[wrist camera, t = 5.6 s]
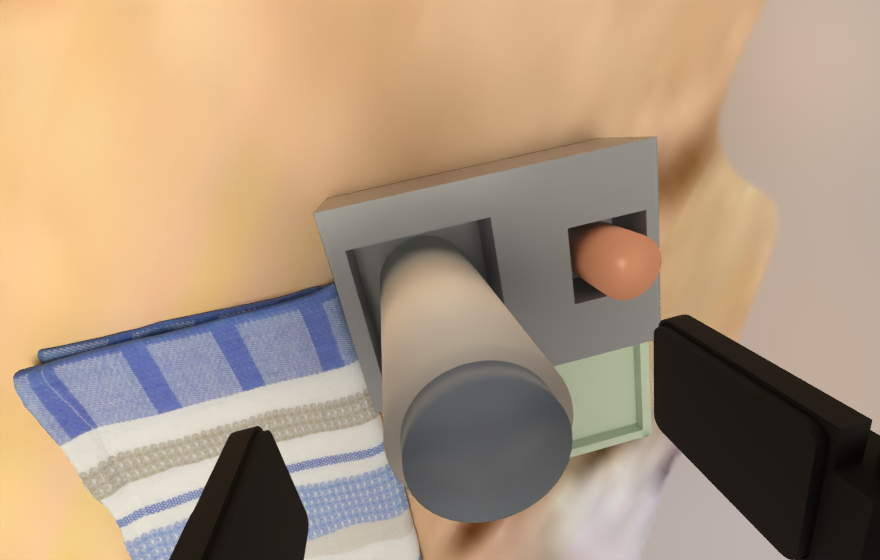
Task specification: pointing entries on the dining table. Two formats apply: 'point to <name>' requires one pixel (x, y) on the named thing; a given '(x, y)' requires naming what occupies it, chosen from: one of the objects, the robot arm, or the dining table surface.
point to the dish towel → (226, 421)
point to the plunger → (614, 259)
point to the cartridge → (465, 390)
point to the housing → (506, 243)
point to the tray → (609, 398)
